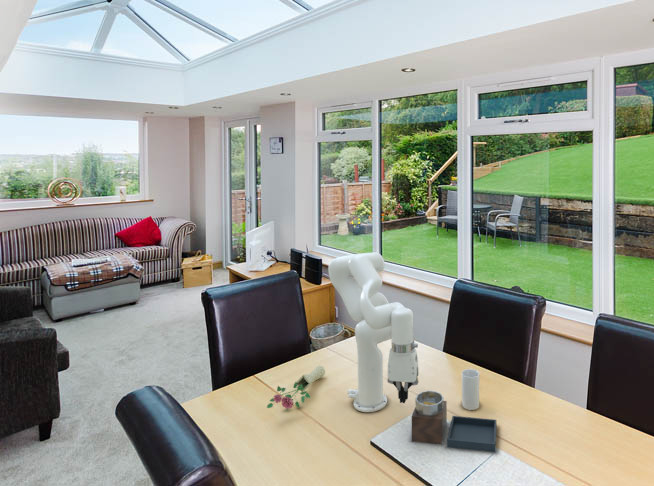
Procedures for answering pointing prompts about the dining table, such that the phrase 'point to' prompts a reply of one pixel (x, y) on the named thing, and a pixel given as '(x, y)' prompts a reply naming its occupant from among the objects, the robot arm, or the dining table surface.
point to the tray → (472, 434)
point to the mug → (470, 389)
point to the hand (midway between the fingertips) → (403, 400)
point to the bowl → (431, 398)
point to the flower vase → (298, 388)
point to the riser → (429, 427)
